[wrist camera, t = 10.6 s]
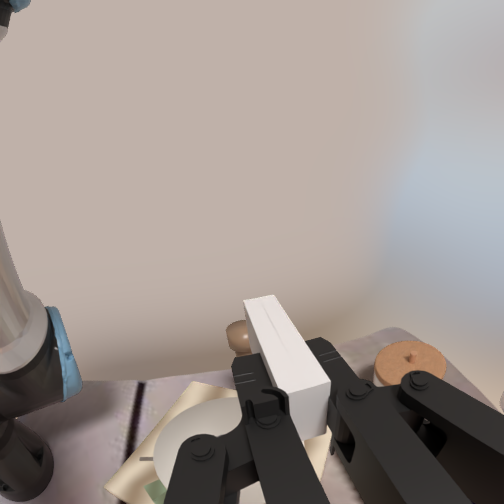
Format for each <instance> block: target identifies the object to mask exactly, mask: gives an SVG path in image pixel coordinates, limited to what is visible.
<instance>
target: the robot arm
mask: <svg viewBox="0 0 504 504" xmlns="http://www.w3.org/2000/svg"><path fill="white" fill-rule="evenodd" d="M30 2H31V0H0V41H1V40H2V39H3V38H4V37H5V36H6V34H7V31H8V25H9V21H10V16H11V13H12V12H15V13H16V12H19V11H20V10H22V9H24V8H26V7H27V6H28V5H29V4H30ZM243 303H244V309H245V317H246V323H247V330H248V337H249V343H250V348H251V351H252V354H250V355H245V356H240V357H235V358H234V361H233V364H232V366H231V367H232V372H233V377H234V381H235V386H236V390H237V395H238V399H239V403H240V408H241V412H242V418H241V421H240V423H239V424H238V426H237V427H236V428H235V429H233V430H232V431H230V432H228V433H227V434H224V435H222V436H220V437H216V436H214V435H210V434H197V435H194V436H192V437H189V438H187V439H186V440H185V441H184V442H183V443H182V444H181V446H180V448H179V450H178V453H177V457H176V460H175V464H174V467H173V471H172V474H171V478H170V481H169V485H168V488H167V492H166V495H165V499H164V503H163V504H239V501H240V490H242V489H244V488H246V487H248V486H250V485H252V484H254V483H256V482H258V481H259V482H260V485H261V489H262V492H263V496H264V499H265V502H266V504H330V502H329V500H328V498H327V496H326V494H325V492H324V489H323V487H322V485H321V483H320V481H319V479H318V476H317V474H316V472H315V470H314V468H313V465H312V463H311V461H310V459H309V457H308V454H307V452H306V450H305V448H304V445H303V443H302V441H304V440H307V439H311V438H314V437H317V436H320V435H323V434H326V433H327V425H328V427H329V429H330V430H331V432H332V440H331V447H330V453H331V455H334V451H335V450H336V452H337V454H338V456H339V457H340V459H341V461H342V463H343V465H344V467H345V469H346V470H347V472H348V474H349V476H350V478H351V480H352V481H353V483H354V485H355V487H356V489H357V490H358V492H359V494H360V496H361V498H362V500H363V501H364V503H365V504H472V503H471V501H473V502H474V503H476V504H504V415H503V414H501V413H499V412H498V411H496V410H494V409H492V408H490V407H489V406H487V405H485V404H483V403H482V402H480V401H478V400H476V399H475V398H473V397H471V396H469V395H468V394H466V393H464V392H462V391H461V390H459V389H457V388H455V387H454V386H452V385H450V384H448V383H447V382H445V381H443V380H441V379H440V378H438V377H436V376H435V375H433V374H431V373H429V372H426V371H422V370H415V371H410V372H408V373H406V374H405V375H404V376H403V377H402V378H401V382H400V384H396V385H390V386H381V387H377V386H376V385H374V384H373V383H372V382H370V381H367V380H364V379H359V378H358V377H357V375H356V374H355V373H354V372H353V370H352V369H351V368H350V367H349V365H348V364H347V363H346V362H345V360H344V359H343V358H342V357H341V355H340V354H339V353H338V352H337V351H336V349H335V348H334V347H333V345H332V344H331V343H330V342H328V341H327V340H325V339H323V338H321V337H319V338H315V339H311V340H308V341H304V340H303V338H302V337H301V335H300V334H299V332H298V331H297V329H296V328H295V326H294V325H293V324H292V322H291V320H290V319H289V317H288V316H287V314H286V313H285V311H284V309H283V308H282V306H281V305H280V303H279V302H278V300H277V299H276V297H275V296H274V295H269V296H264V297H259V298H254V299H248V300H243ZM81 389H82V379H81V376H80V373H79V370H78V367H77V364H76V361H75V359H74V356H73V354H72V351H71V347H70V343H69V340H68V337H67V334H66V331H65V328H64V325H63V322H62V319H61V316H60V313H59V310H58V309H57V308H56V307H48V306H47V307H44V305H43V304H42V302H41V300H40V299H39V298H38V297H37V296H35V295H34V294H33V293H30V292H29V291H25V290H24V289H23V287H22V284H21V282H20V279H19V277H18V274H17V272H16V269H15V266H14V264H13V261H12V258H11V255H10V252H9V249H8V246H7V242H6V239H5V236H4V232H3V229H2V225H1V222H0V494H1V495H2V496H3V497H5V498H7V499H9V500H12V501H17V502H21V501H27V500H30V499H33V498H34V497H36V496H38V495H39V494H40V493H41V492H42V491H43V490H44V489H45V488H46V486H47V485H48V483H49V481H50V479H51V476H52V472H53V457H52V454H51V451H50V449H49V448H48V446H47V445H46V444H45V443H44V442H43V440H42V439H41V438H40V437H39V436H38V435H37V434H36V433H35V432H33V431H32V430H30V429H29V428H28V427H26V426H25V425H24V424H22V423H21V422H20V421H18V420H17V419H16V417H19V416H22V415H25V414H28V413H31V412H33V411H36V410H39V409H42V408H44V407H47V406H50V405H52V404H55V403H58V402H64V401H66V399H67V398H70V397H72V396H74V395H76V394H78V393H79V392H80V391H81ZM425 419H426V420H425ZM427 420H428V421H427ZM468 498H469V499H470V500H471V501H470V500H469V499H468Z"/></svg>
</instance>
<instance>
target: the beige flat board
mask: <svg viewBox="0 0 504 504" xmlns="http://www.w3.org/2000/svg"><path fill="white" fill-rule="evenodd" d="M227 397H238V395H237V390H233V389H227V388H222V387H217V386H213V385H208V384H204V383H199V382H195V381H192V382H191V384H190V385H189V386H188V387H187V389H186V390H185V391H184V392H183V394H182V395H181V396H180V397H179V398H178V400H177V401H176V402H175V403H174V405H173V406H172V407H171V408H170V410H169V411H168V412H167V413H166V414H165V416H164V417H163V418H162V419H161V420H160V422H159V423H158V424H157V425H156V426H155V428H154V429H153V430H152V431H151V432H150V434H149V435H148V436H147V437H146V438H145V440H144V441H143V442H142V443H141V444H140V445H139V447H138V448H137V449H136V450H135V451H134V452H133V454H132V455H131V456H130V457H129V458H128V459H127V461H126V462H125V463H124V464H123V465H122V466H121V467H120V469H119V470H118V471H117V472H116V473H115V474H114V475H113V477H112V478H111V479H110V480H109V481H108V482H107V483H106V484H105V486H104V488H105V489H106V490H107V491H108V492H110V493H111V494H113V495H114V496H116V497H117V498H119V499H120V500H122V501H124V502H125V503H127V504H163V503H164V499H165V495H166V492H167V488H166V487H165V486H164V485H163V483H162V482H161V480H160V479H159V477H158V475H157V473H156V470H155V467H154V461H153V452H154V447H155V443H156V441H157V438H158V436H159V434H160V433H161V431H162V430H163V428H164V427H165V426H166V425H167V424H168V423H169V422H170V421H171V420H172V419H173V418H174V417H175V416H177V415H178V414H180V413H181V412H183V411H185V410H186V409H188V408H190V407H192V406H195V405H197V404H200V403H203V402H206V401H210V400H214V399H219V398H227ZM331 437H332V432H331V430H330V429H329V427H328V425H327V433H326V434H323V435H320V436H317V437H314V438H311V439H307V440H304V446H305V450H306V452H307V454H308V457H309V459H310V461H311V463H312V465H313V468H314V470H315V472H316V474H317V476H318V479H319V481H320V482H321V478H322V474H323V471H324V467H325V463H326V459H327V454H328V450H329V446H330V441H331Z"/></svg>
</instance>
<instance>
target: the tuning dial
mask: <svg viewBox="0 0 504 504" xmlns="http://www.w3.org/2000/svg"><path fill="white" fill-rule="evenodd" d="M226 333H227V338H228V343H229V347H230V348H231V349H232V350H234V351H235V352H236V357H240V356H245V355H250V354H252V351H251V348H250V343H249V337H248V330H247V323H246V320H240V321H236V322H234V323H232V324H230V325H229V326H228V327H227V329H226ZM241 418H242V412H241V408H240V403H239V399H238V397H227V398H219V399H214V400H210V401H206V402H203V403H200V404H197V405H195V406H192V407H190V408H188V409H186V410H185V411H183V412H181V413H180V414H178V415H177V416H175V417H174V418H173V419H172V420H171V421H170V422H169V423H168V424H167V425H166V426H165V427H164V428H163V430H162V431H161V433H160V434H159V436H158V438H157V441H156V443H155V447H154V452H153V461H154V467H155V470H156V473H157V475H158V477H159V479H160V480H161V482H162V483H163V485H164V486H165V487H166V488H168V485H169V481H170V478H171V474H172V471H173V467H174V464H175V460H176V457H177V453H178V450H179V448H180V446H181V444H182V443H183V442H184V441H185V440H186V439H187V438H189V437H192V436H194V435H197V434H210V435H214V436H216V437H220V436H222V435H224V434H227V433H228V432H230V431H232V430H233V429H235V428H236V427H237V426H238V424H239V423H240V421H241ZM302 443H303V445H304V441H302ZM304 448H305V446H304ZM239 504H266V502H265V499H264V496H263V492H262V489H261V485H260V482H259V481H258V482H256V483H254V484H252V485H250V486H248V487H246V488H244V489H242V490H240V501H239Z"/></svg>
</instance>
